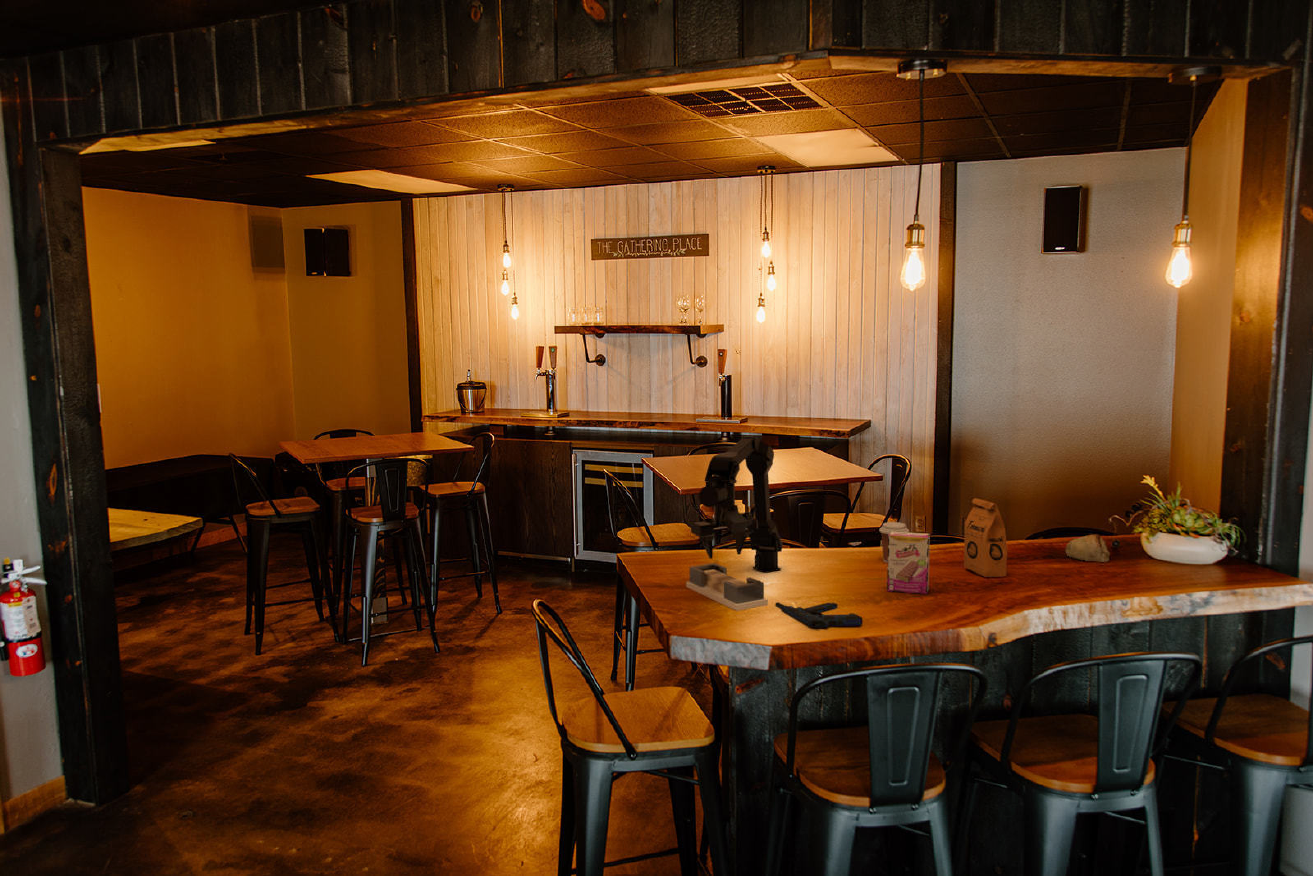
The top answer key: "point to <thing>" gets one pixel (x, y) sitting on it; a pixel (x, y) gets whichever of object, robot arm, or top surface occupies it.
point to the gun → (821, 616)
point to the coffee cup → (885, 532)
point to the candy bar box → (908, 562)
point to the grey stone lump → (1088, 549)
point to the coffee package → (985, 540)
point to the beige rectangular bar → (719, 580)
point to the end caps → (729, 584)
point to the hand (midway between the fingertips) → (724, 556)
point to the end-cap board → (720, 598)
